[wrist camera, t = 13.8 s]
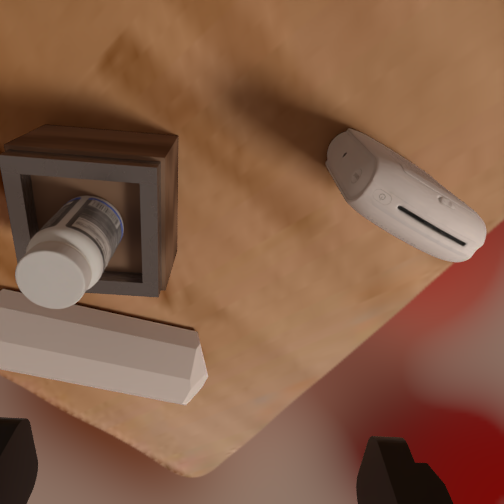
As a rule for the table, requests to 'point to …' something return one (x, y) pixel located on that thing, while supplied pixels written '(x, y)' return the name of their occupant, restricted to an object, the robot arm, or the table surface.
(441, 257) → the photo printer
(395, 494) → the robot arm
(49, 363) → the crystal
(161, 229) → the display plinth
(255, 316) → the table surface
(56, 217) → the pill bottle
